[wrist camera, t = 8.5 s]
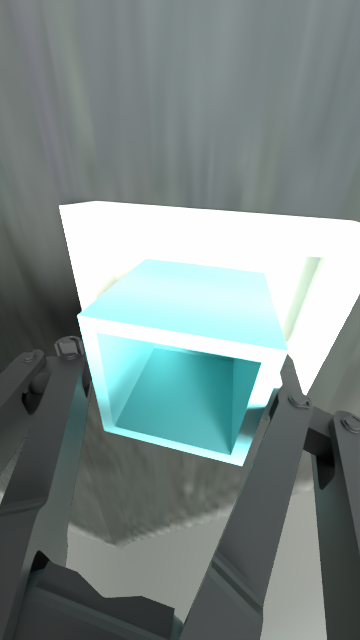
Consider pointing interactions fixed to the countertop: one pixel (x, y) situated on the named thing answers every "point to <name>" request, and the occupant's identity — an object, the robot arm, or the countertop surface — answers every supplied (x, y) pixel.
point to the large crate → (229, 261)
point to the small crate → (185, 356)
